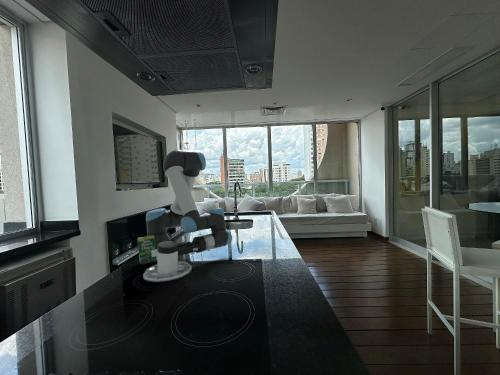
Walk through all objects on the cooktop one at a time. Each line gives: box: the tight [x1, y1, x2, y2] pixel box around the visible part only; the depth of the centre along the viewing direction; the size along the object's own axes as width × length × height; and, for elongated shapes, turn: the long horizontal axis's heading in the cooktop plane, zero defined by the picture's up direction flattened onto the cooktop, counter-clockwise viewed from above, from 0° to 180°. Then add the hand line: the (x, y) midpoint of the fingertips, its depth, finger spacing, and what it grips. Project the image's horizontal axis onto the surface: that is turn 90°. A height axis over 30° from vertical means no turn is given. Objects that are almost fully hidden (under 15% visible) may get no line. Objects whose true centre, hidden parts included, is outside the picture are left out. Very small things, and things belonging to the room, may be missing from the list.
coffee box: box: [137, 235, 157, 265], centre depth 128 cm, size 8×3×13 cm, turn 117°
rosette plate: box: [142, 260, 192, 283], centre depth 111 cm, size 20×20×2 cm
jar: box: [156, 240, 179, 275], centre depth 107 cm, size 9×8×12 cm
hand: (154, 255), depth 108 cm, fingers open, 5 cm apart
